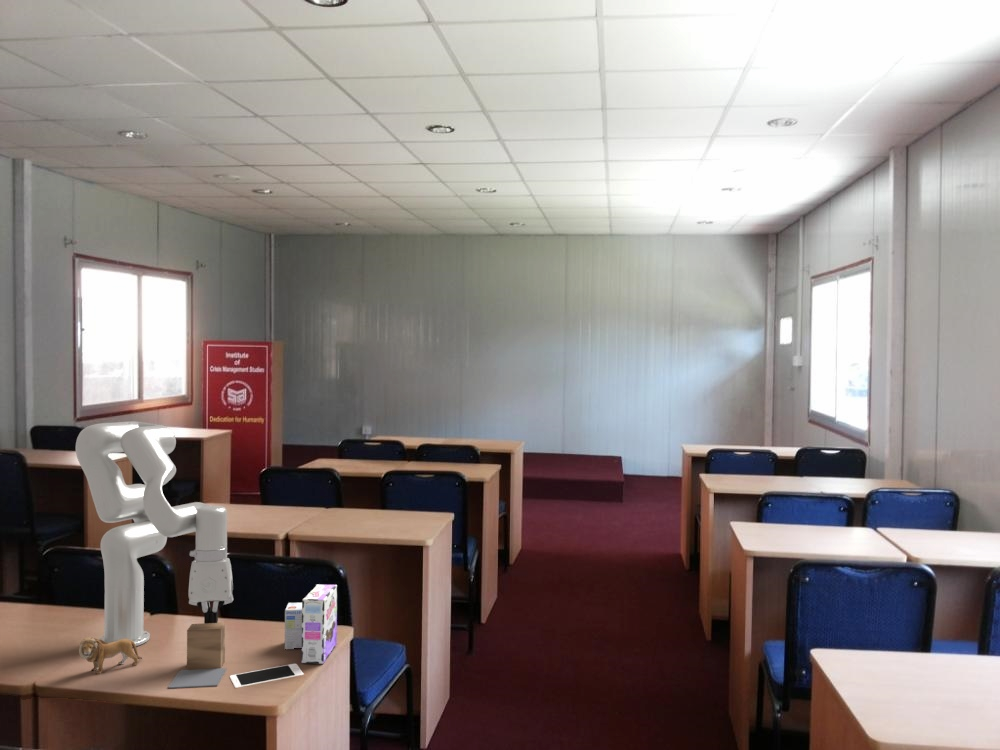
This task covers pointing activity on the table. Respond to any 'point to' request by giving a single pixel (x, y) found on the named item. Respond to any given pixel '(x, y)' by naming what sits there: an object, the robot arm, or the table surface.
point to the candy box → (319, 624)
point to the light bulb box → (293, 626)
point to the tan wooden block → (205, 646)
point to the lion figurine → (107, 651)
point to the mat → (197, 678)
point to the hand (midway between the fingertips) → (211, 626)
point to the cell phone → (265, 675)
